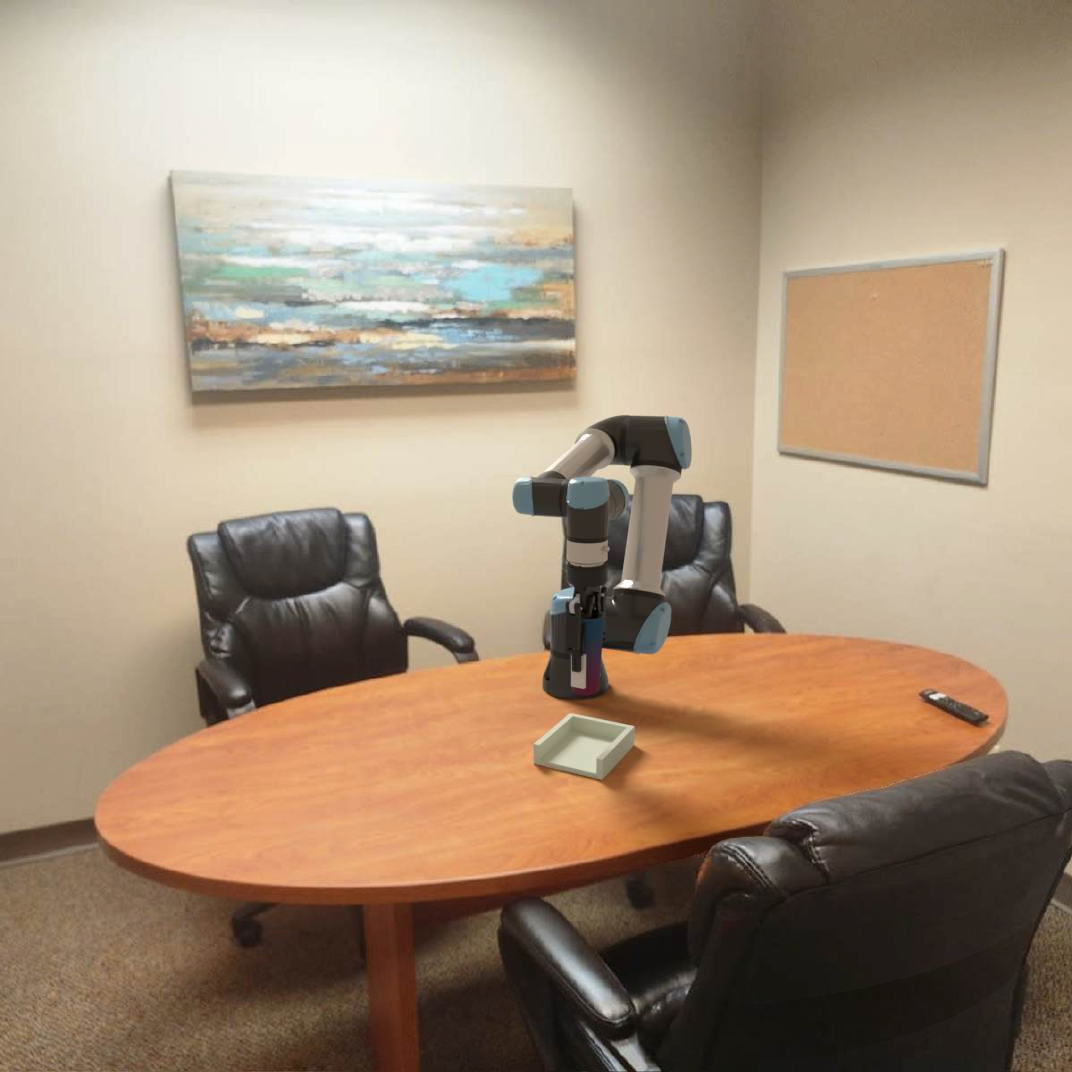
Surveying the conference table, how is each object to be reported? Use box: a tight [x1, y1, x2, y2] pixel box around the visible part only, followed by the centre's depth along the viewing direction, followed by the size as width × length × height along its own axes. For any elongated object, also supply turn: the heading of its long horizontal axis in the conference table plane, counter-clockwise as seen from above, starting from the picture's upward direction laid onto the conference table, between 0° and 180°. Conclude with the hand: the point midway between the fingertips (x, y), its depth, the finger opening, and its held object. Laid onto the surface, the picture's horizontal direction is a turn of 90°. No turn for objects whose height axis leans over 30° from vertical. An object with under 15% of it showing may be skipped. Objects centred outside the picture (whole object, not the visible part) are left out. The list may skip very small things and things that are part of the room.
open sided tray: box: [533, 712, 636, 781], centre depth 170 cm, size 14×16×4 cm
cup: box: [570, 611, 605, 695], centre depth 166 cm, size 7×7×15 cm
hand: (585, 680), depth 167 cm, fingers closed on cup, 6 cm apart
